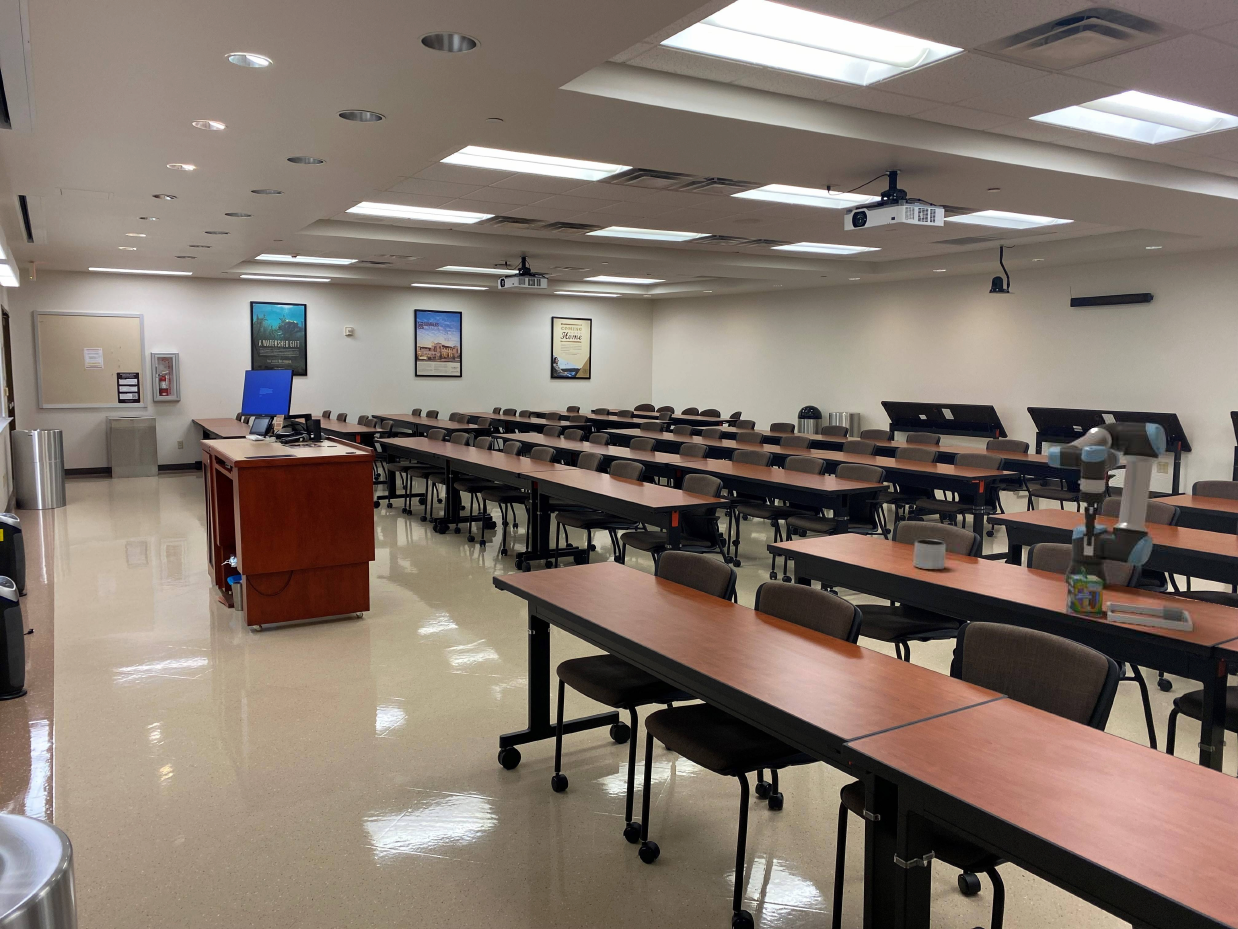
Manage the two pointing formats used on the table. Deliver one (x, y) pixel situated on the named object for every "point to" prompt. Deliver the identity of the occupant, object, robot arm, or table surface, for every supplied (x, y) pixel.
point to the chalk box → (1085, 593)
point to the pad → (1083, 612)
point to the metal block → (1172, 613)
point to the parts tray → (1146, 621)
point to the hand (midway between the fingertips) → (1088, 551)
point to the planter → (929, 554)
